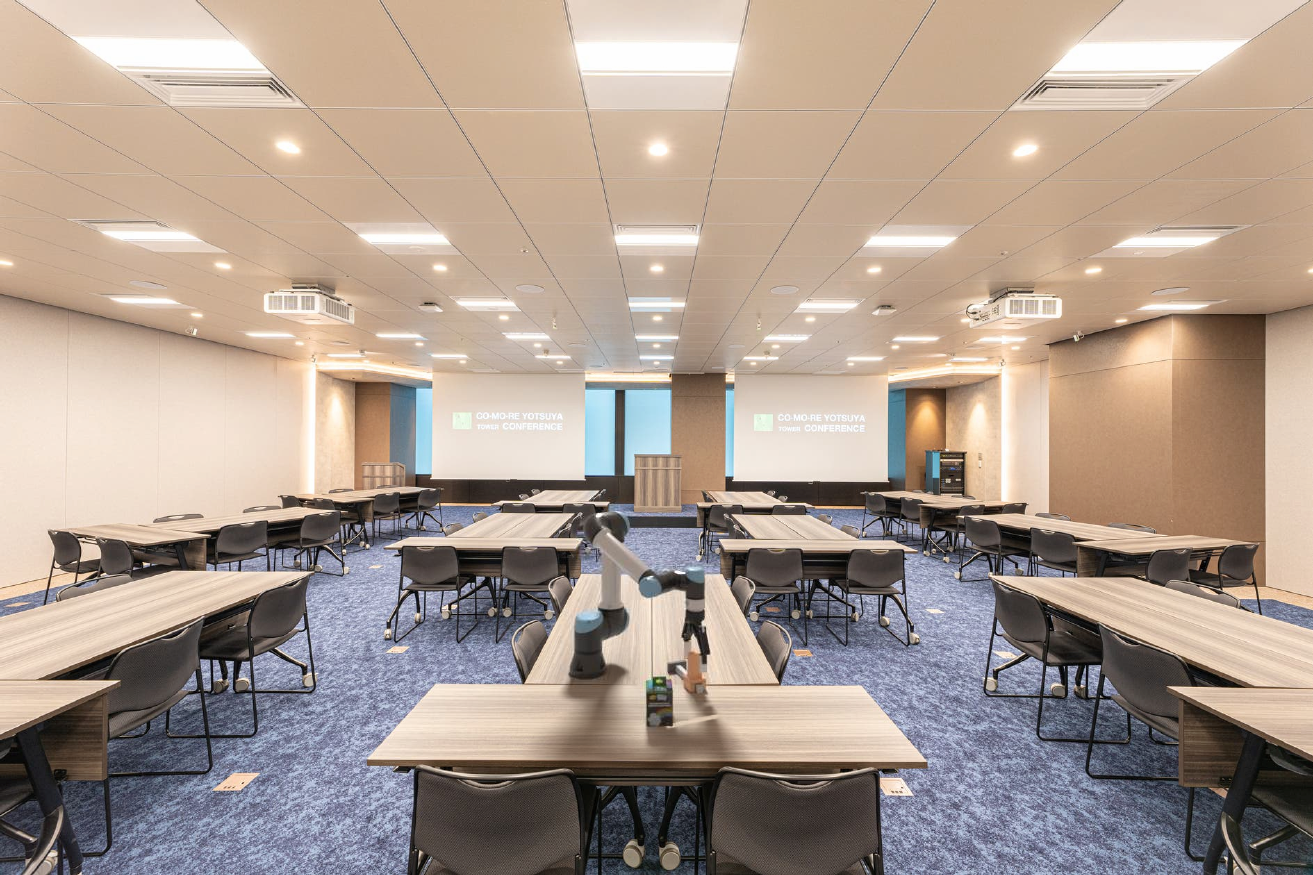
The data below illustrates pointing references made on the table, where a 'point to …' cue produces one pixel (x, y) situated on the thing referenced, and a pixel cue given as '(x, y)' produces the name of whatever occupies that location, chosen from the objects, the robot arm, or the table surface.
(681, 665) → the rail
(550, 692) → the table surface
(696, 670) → the slider
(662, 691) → the chalk box
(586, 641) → the robot arm
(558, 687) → the table surface
